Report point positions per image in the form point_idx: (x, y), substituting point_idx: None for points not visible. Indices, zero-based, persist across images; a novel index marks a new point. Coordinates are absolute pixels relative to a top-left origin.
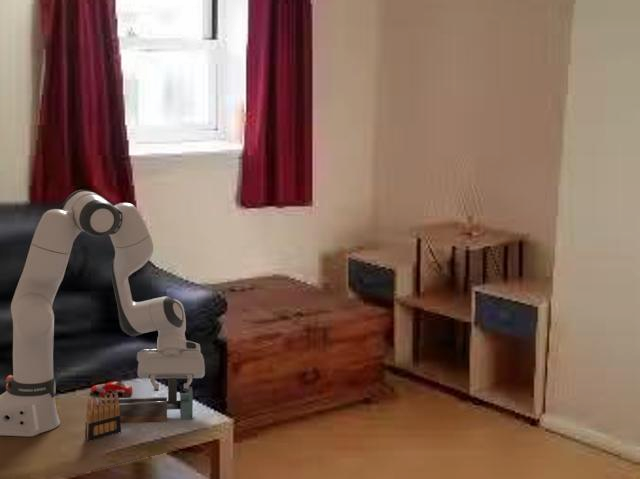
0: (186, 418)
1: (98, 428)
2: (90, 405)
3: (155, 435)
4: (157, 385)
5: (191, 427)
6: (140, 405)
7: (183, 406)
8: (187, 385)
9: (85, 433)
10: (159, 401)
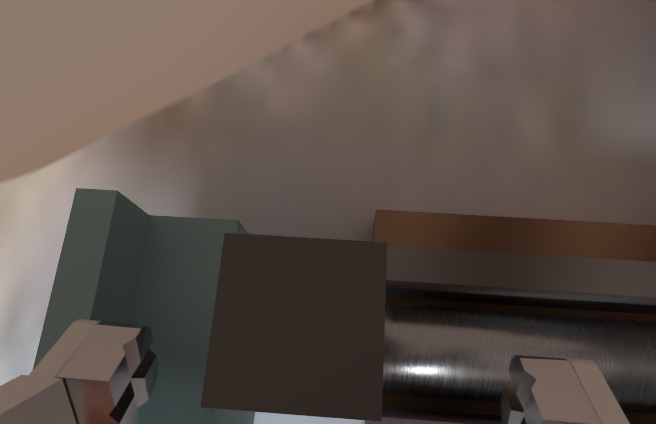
0: None
1: None
2: None
3: (457, 17)
4: (553, 390)
5: (219, 109)
6: (649, 264)
7: None
8: (72, 346)
9: None
10: (457, 345)
